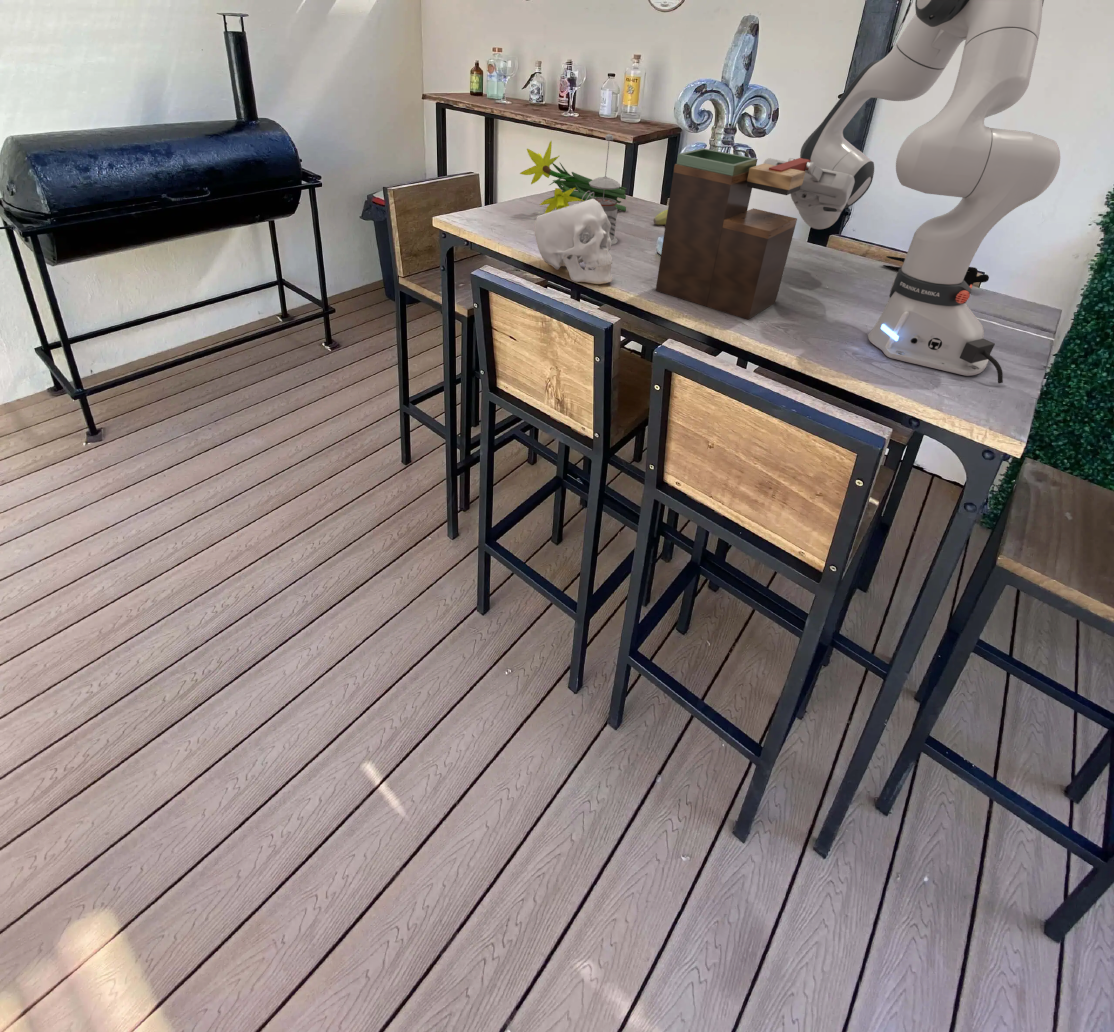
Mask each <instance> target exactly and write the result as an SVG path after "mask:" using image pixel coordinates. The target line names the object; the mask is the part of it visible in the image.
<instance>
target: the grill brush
mask: <svg viewBox="0 0 1114 1032" xmlns="http://www.w3.org/2000/svg"><path fill="white" fill-rule="evenodd" d="M794 159H795V160H792V161H789V162H788V161H786V163H782V164H779V165H776V166H775V165H770V164H765V163H764V162H763V163H764V164H763V163H760V164H756V166H754V167H751V168H750V169H749V173H748V178H747V181H748V184H747V187H750V188H752V189H755V190H760V191H765V192H769V193H773V194H778V195H783V196H788V195H791V193H794V192H796V191H799V190H800V187H801V185H802V184H803V180H804V176H805V171H804V168H805V166H806V163H807V162H811V160H808V159H803V158H800V157H798V158H794Z"/></svg>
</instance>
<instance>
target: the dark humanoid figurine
mask: <svg viewBox="0 0 1114 1032" xmlns="http://www.w3.org/2000/svg"><path fill="white" fill-rule="evenodd" d="M885 258H887V259H890V260H893V261H898V262H901V263H904V260H905V258H906V257H898V256H890V255H886V256H885ZM882 267H884V268H886V269H890V270H894V271H897V272H898V270H899V269H900V268H901V267H902V266H893V265H888V264H883V265H882ZM978 272H979V271H978V268H977V267H974V266H969V268H968V270H967V272H966V275H965V277H964V279H963V280H964V281H965V282H966V283H967V284H968V285H969V286H970V285H971V284H972V286H973V285H974V284H975V283H987V282H988V281H989V279H990V275H988V274H986V273H985V274H984V273H983V274H980V275H978Z"/></svg>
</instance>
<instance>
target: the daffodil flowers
mask: <svg viewBox="0 0 1114 1032" xmlns="http://www.w3.org/2000/svg"><path fill="white" fill-rule="evenodd" d="M552 144H553V143H552V140H550V141H549V143H548V145H547V148H546V151H545V153H544V155H543V156H542V154H541V153H539V152H537V153H536V152H535V151H533V150H531V149H529V148H526V151H527V154H528V156H529V158H530V160H531V161H532V163H534V164H535V165H534V166H531V167H528V168H527V169H524V170H523V171H521V172H519V175H524V176H532V175H533V177H532V180H531V182H530V185H533V184H535V183H538V181H539V180H540V179H541V178H542V176H544V177H545V178H547V179H549V178H550V176H551V177H554V178H557V179H553V180H552V182H551V183H550V184H549V186H551V185H553V184H556V186H557V187H558V188H557V187H555V188H554V194H553V195H554V196H551V197H548V198H546V199H544V200H543V201H542V202H541V203H539V206H545V205H547V207H546V209H545V210H544V214H546V213H549V212H552V211H555V210H558V209H561V208H564V207H567V206H570V204H569V203H572V202H581V200H582V197H583V195H584V194H585V193H586V192H587V191H590V192H591V193H592V192H594V193H592V194H591V196H592V197H593V194H594V197H593V198H595V197H599V198H600V197H603V193H604V198H608V199H613V200H616V201H617V204H616V205H613V206H615V207H617V211H622V212H626V211H627V206H625V205H621V203H622V201H621V200H618V198H619V199H622V200H626V198H627V195H626V190H628V189H627V187H623V186H620V188H618V189H610V190H607V189H605V191H604V189H597V188H593V187H591V186H590V185H589V182H590V181H592V180H593V179H592V178H589V177H587V176H583V175H581V174H578V173H577V172H574V171H571V174H570V173H569V172H568V171H567V170H566V168H565V166H564V165H563V164H562V163H561V162H559V165H560V167H561V168H560V167H559V166H558V165H556V164H555V162H556V161H557V160H558V159H559V157H560V155H557V156H555V157H551V155H552ZM551 165H552V166H553V167H554V168H555V170H557V171H558V172H557V171H555V170H553V169H551V167H550V166H551ZM590 192H587V193H586V194H585V196H584V197H583V200H582V202H583V201H585V200H586V199H587V197H588V195H589V194H590ZM592 197H590V196H589V197H588V199H587V200H590V199H591V198H592Z"/></svg>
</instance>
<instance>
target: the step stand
mask: <svg viewBox="0 0 1114 1032" xmlns="http://www.w3.org/2000/svg"><path fill="white" fill-rule="evenodd" d="M748 173H749V171H748V172H744V173H741V174H738V175H734V176H730V175H725V174H720V173H716V172H711V171H706V170H701V169H697V168H692V167H687V166H683V165H678V164H677V163H675V164H674V166H673V174H672V181H671V187H670V192H669V193H670V194H669V200H668V206H667V209H668V212H667V219H666V225H664V226H665V227H664V232H663V240H662V246H661V252H660V259H659V264H658V265H659V266H658V272H657V277H656V278H657V279H656V284H655V285H656V286H655V291H656V292H659V293H662V294H665V295H668V296H671V297H675V298H678V299H682V300H685V301H688V302H691V303H694V304H698V305H701V306H703V307H707V308H710V309H713V310H715V311H719V312H722V313H726V314H729V315H732V316H736V317H739V318H742V319H745V320H749V321H750V319H752V318H753V317H755V316H757V315H758V314H760V313H762V312H763V311H765V310H766V309H768V308H769V307H771V306H773V305H774V304H776V301H777V298H778V294H779V290H780V287H781V282H782V279H783V276H784V271H785V267H786V263H787V260H788V256H789V252H790V249H791V244H792V241H793V237H794V234H795V229H796V225H797V221H798V218H796V217H792V216H788V215H784V214H780V213H775V212H770V211H766V210H762V209H759V208H753V207H752V208H751V209H748V208H749V205H750V200H751V196H752V190H753V188H750V187H747V184H748V181H747V178H748Z"/></svg>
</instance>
